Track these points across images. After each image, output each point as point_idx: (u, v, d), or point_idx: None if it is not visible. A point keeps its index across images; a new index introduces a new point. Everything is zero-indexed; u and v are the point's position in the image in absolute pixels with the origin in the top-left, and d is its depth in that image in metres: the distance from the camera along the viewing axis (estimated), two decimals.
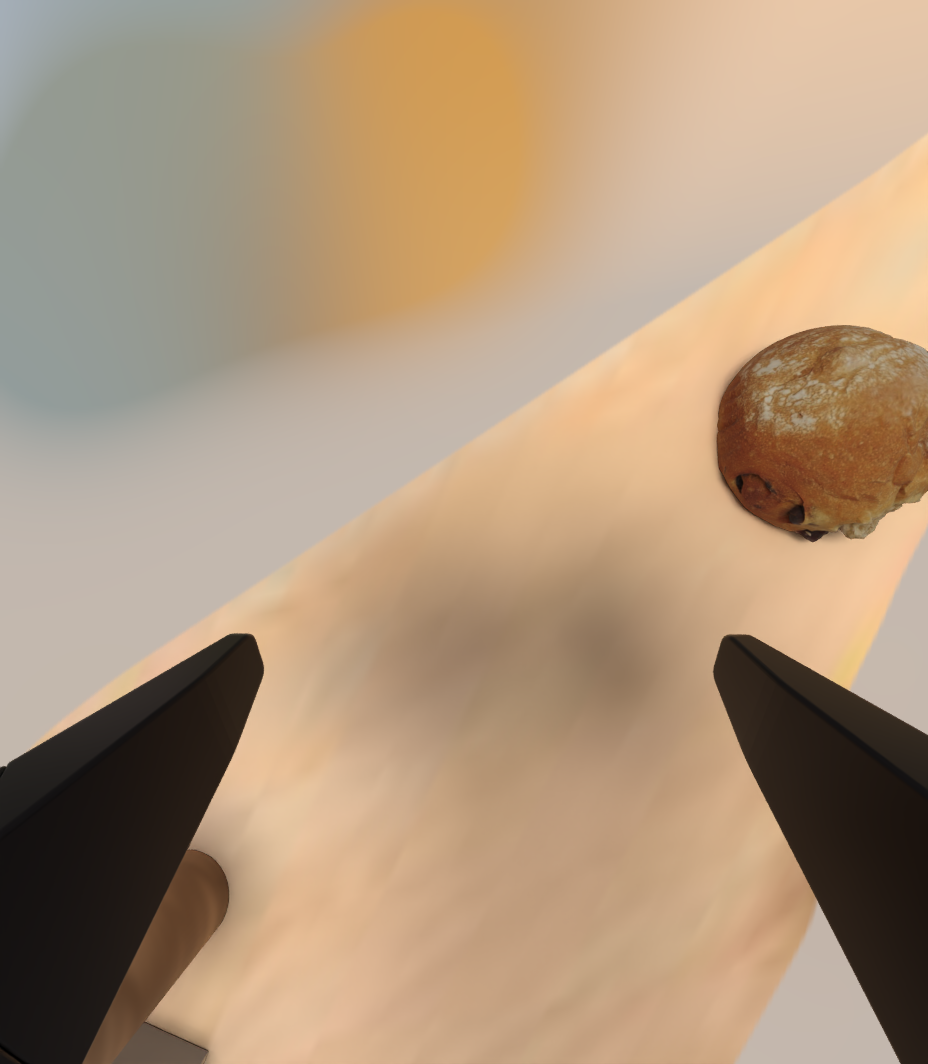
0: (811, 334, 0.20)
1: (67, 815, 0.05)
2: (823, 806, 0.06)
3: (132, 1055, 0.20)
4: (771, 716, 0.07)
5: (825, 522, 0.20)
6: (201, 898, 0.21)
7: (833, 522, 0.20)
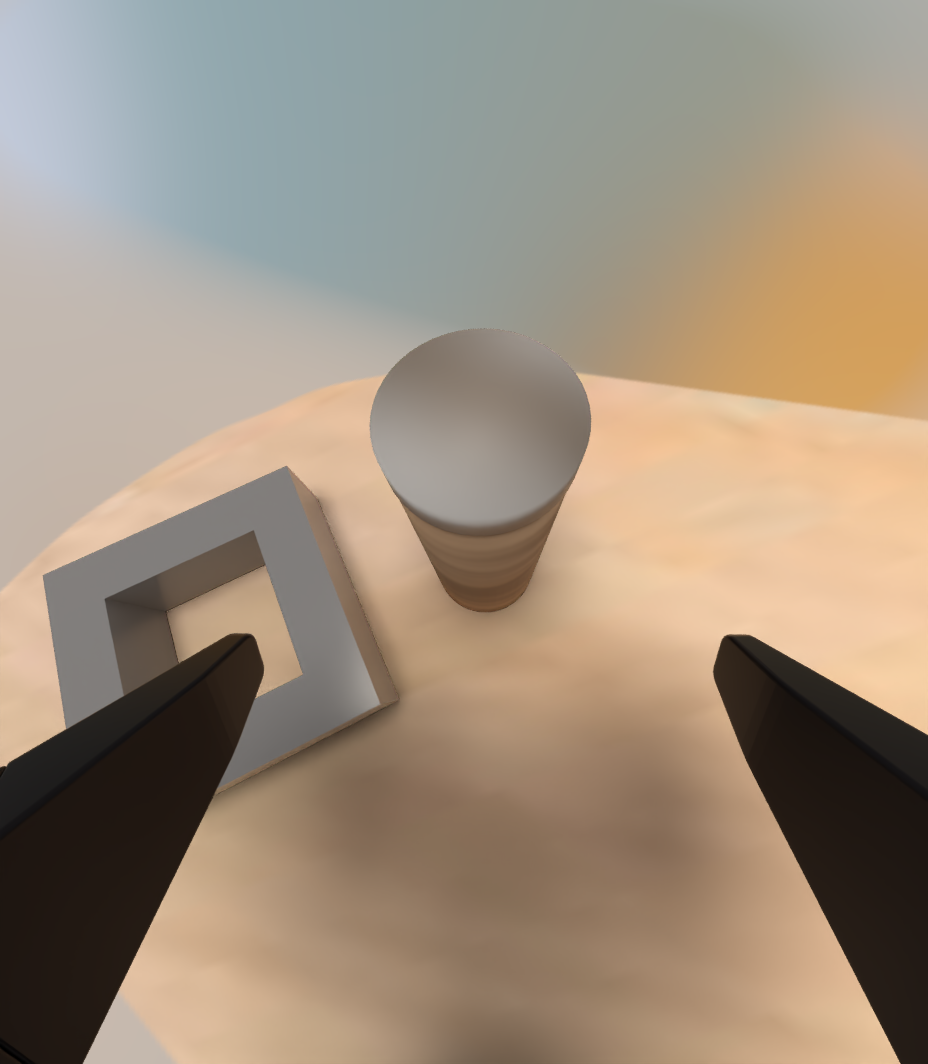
0: None
1: (67, 815, 0.05)
2: (823, 806, 0.06)
3: (365, 633, 0.19)
4: (771, 716, 0.07)
5: None
6: None
7: None
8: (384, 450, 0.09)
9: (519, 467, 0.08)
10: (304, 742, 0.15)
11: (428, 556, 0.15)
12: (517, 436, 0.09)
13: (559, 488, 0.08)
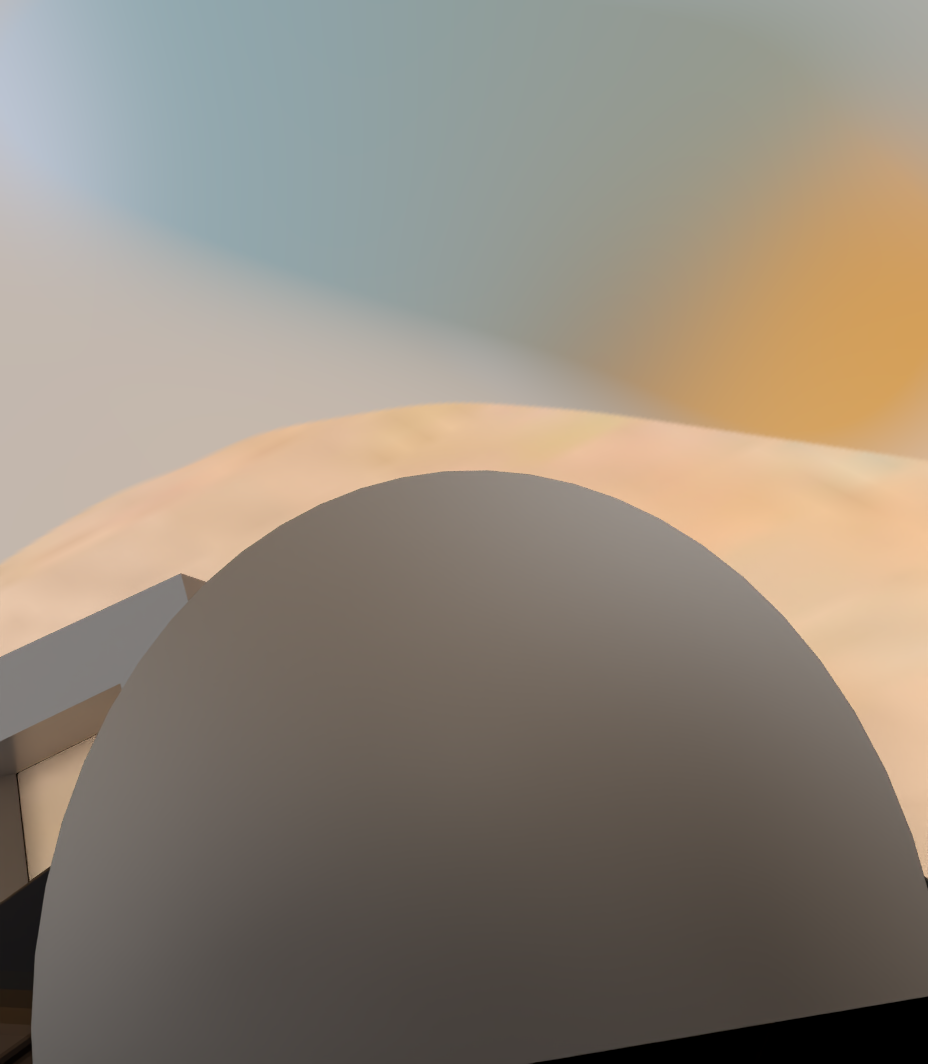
0: None
1: None
2: None
3: None
4: None
5: None
6: None
7: None
8: (73, 1036, 0.02)
9: None
10: None
11: None
12: (629, 993, 0.02)
13: None
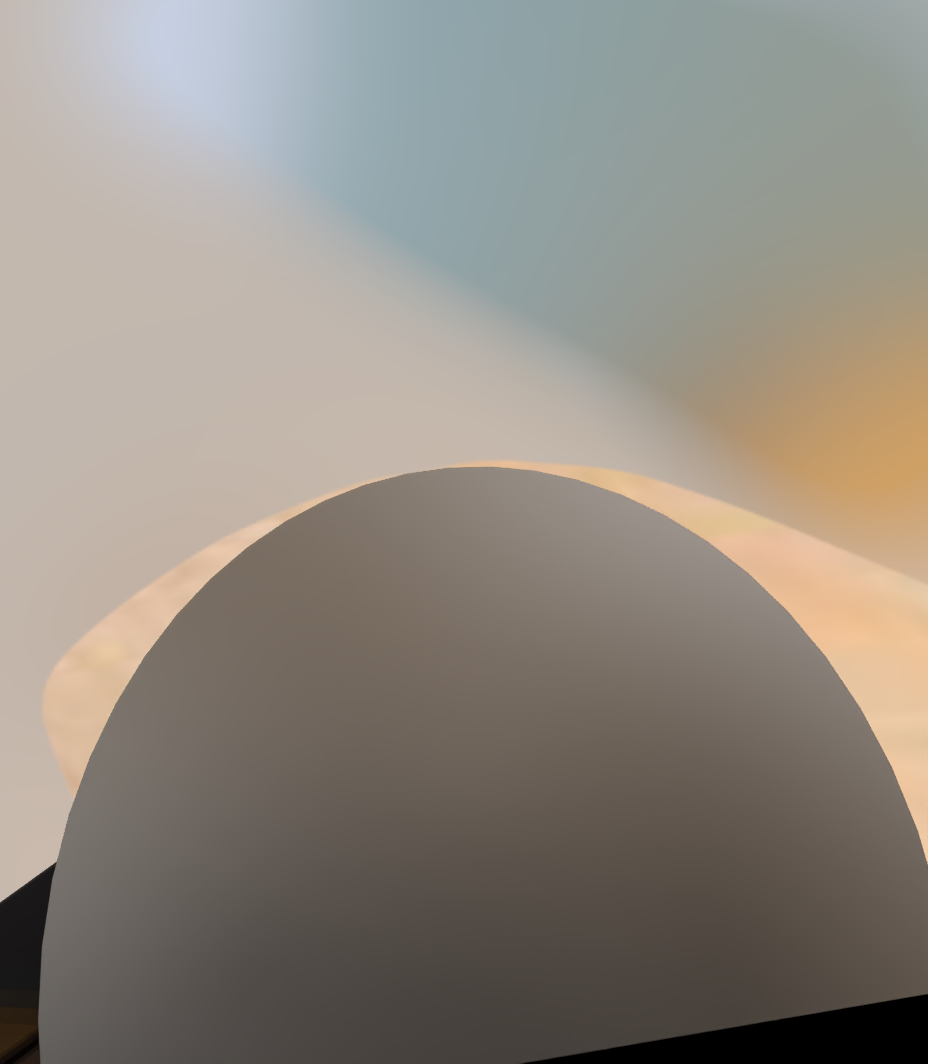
0: None
1: None
2: None
3: None
4: None
5: None
6: None
7: None
8: (80, 1027, 0.02)
9: None
10: None
11: None
12: (634, 987, 0.02)
13: None
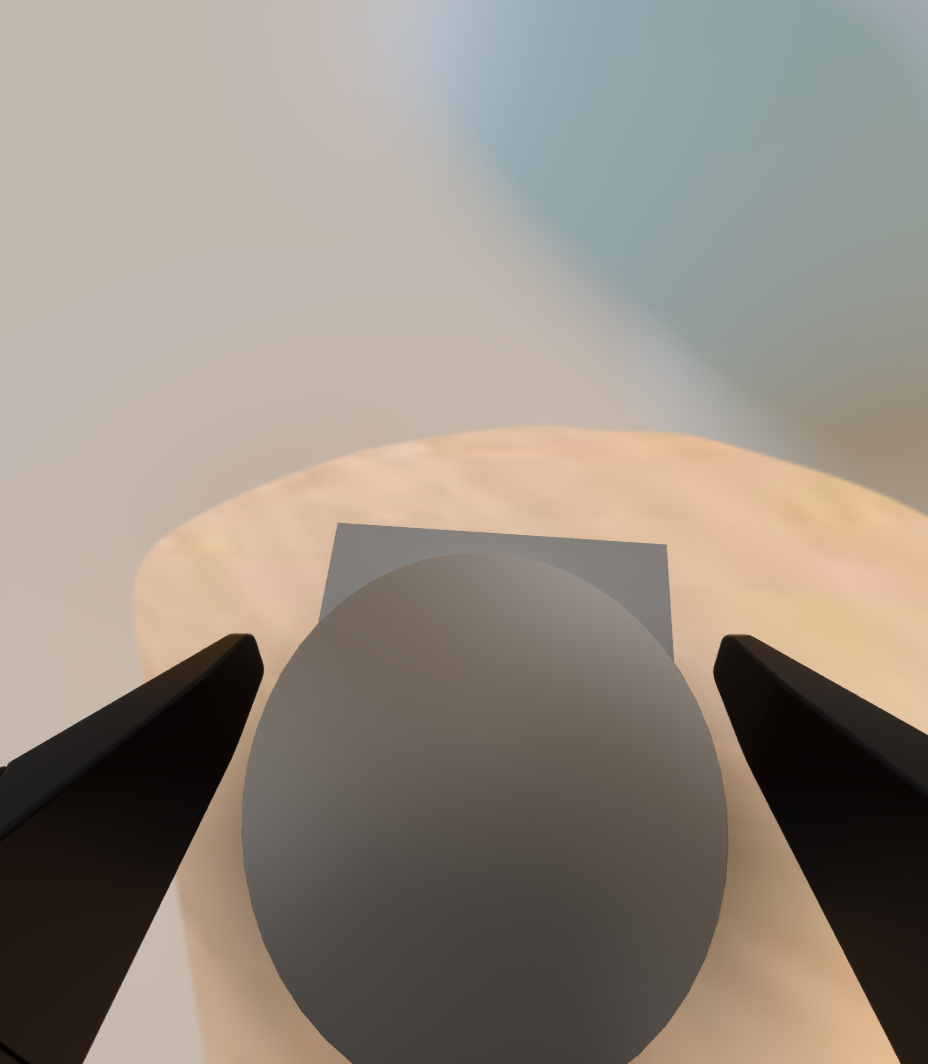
0: None
1: (67, 815, 0.05)
2: (823, 806, 0.06)
3: None
4: (771, 716, 0.07)
5: None
6: None
7: None
8: (268, 871, 0.04)
9: (572, 946, 0.04)
10: None
11: None
12: (563, 847, 0.04)
13: (667, 1017, 0.04)
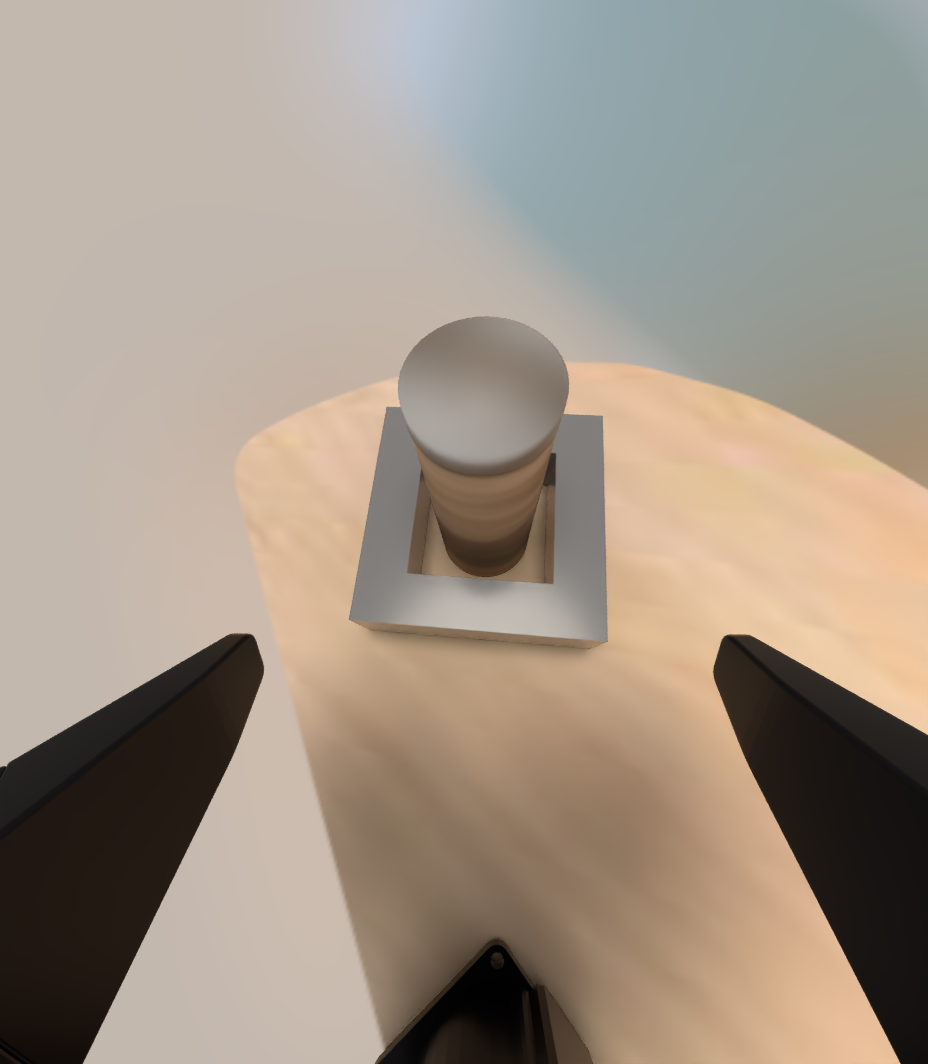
0: None
1: (67, 815, 0.05)
2: (823, 806, 0.06)
3: None
4: (771, 716, 0.07)
5: None
6: None
7: None
8: (409, 407, 0.11)
9: (514, 419, 0.11)
10: (534, 634, 0.18)
11: (437, 516, 0.18)
12: (512, 396, 0.11)
13: (544, 434, 0.11)
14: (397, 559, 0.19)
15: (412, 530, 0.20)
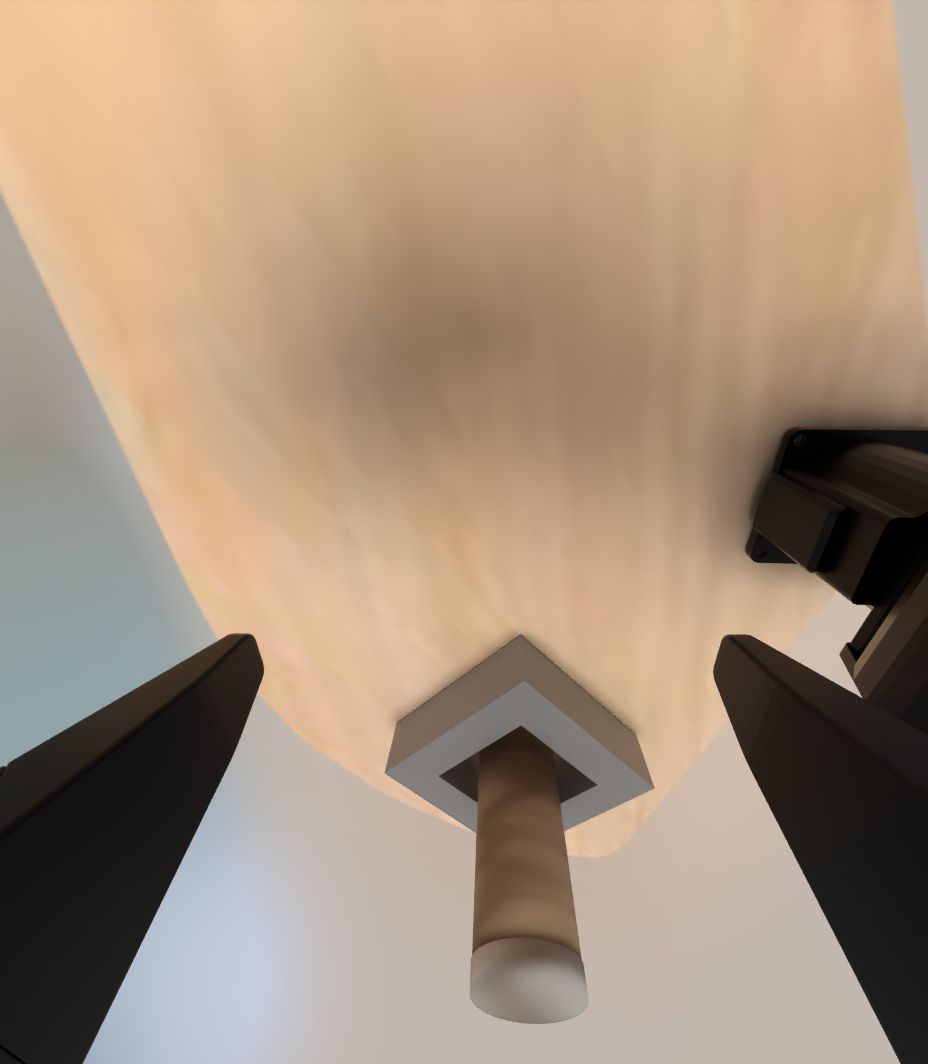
0: None
1: (67, 815, 0.05)
2: (823, 806, 0.06)
3: (481, 678, 0.24)
4: (771, 716, 0.07)
5: None
6: None
7: None
8: (577, 1011, 0.17)
9: (535, 983, 0.16)
10: (562, 712, 0.22)
11: None
12: (522, 989, 0.16)
13: (529, 972, 0.16)
14: (594, 793, 0.25)
15: (569, 798, 0.25)
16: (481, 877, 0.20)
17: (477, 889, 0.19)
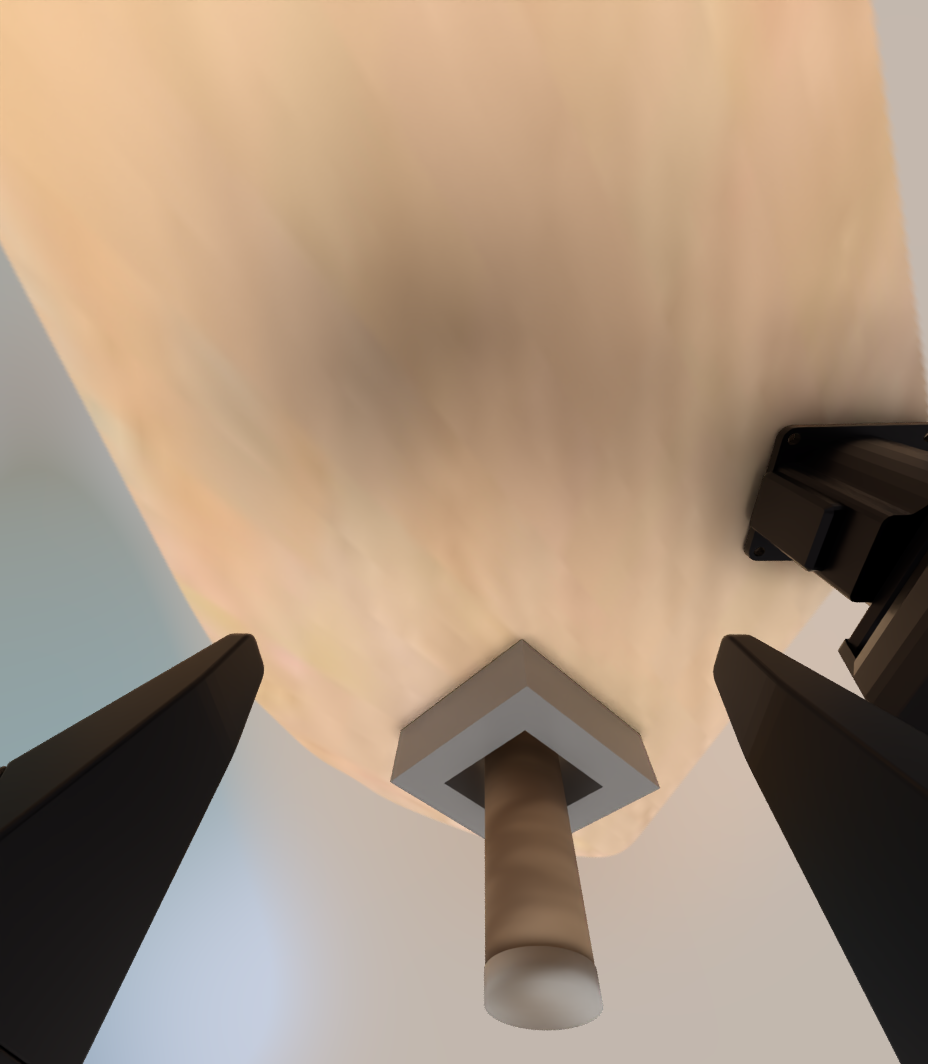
0: None
1: (67, 815, 0.05)
2: (823, 806, 0.06)
3: (484, 684, 0.24)
4: (771, 716, 0.07)
5: None
6: None
7: None
8: (592, 1016, 0.17)
9: (549, 991, 0.16)
10: (566, 716, 0.22)
11: None
12: (537, 997, 0.16)
13: (543, 980, 0.16)
14: (600, 795, 0.25)
15: (575, 801, 0.25)
16: (491, 885, 0.19)
17: (488, 897, 0.19)
